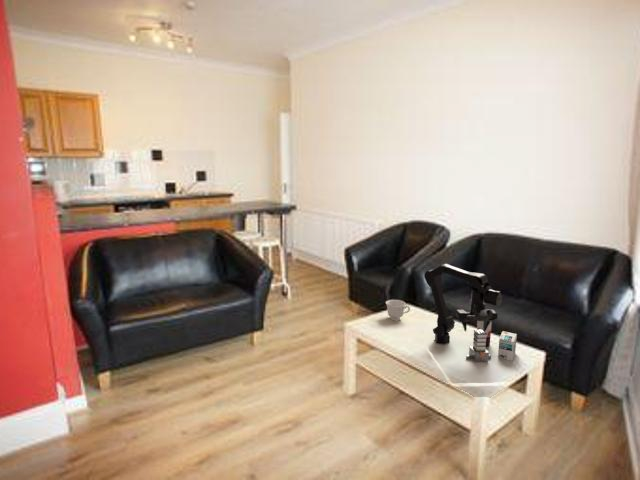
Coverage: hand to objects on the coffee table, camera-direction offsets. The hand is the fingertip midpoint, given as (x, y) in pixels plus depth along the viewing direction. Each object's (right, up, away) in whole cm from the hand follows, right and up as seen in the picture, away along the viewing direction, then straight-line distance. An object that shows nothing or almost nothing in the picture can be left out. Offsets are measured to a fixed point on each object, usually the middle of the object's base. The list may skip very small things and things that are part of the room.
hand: (474, 331), depth 190 cm
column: (0, -8, -4) cm, 9 cm away
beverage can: (+9, -11, +12) cm, 18 cm away
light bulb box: (+16, -13, +1) cm, 20 cm away
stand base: (+1, -13, -3) cm, 14 cm away
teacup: (-28, -4, +48) cm, 56 cm away
